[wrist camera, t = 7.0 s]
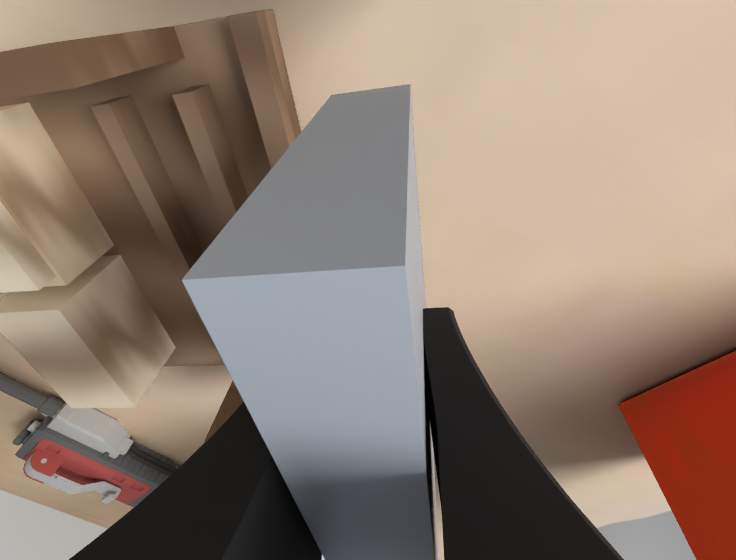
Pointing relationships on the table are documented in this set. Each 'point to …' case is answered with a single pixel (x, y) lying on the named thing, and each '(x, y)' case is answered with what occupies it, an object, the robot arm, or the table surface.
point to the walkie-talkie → (85, 450)
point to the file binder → (694, 452)
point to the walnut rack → (164, 145)
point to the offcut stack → (68, 279)
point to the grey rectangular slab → (335, 326)
